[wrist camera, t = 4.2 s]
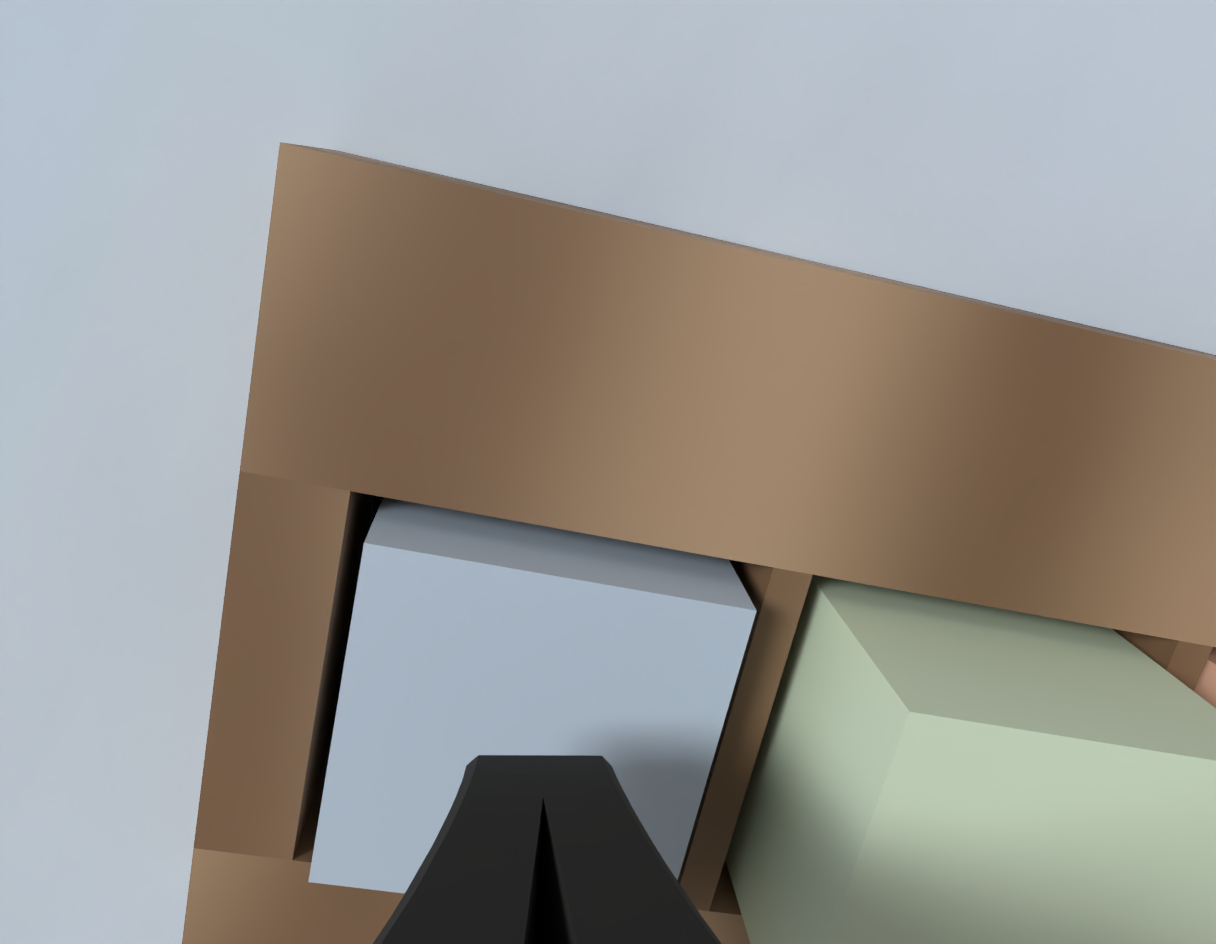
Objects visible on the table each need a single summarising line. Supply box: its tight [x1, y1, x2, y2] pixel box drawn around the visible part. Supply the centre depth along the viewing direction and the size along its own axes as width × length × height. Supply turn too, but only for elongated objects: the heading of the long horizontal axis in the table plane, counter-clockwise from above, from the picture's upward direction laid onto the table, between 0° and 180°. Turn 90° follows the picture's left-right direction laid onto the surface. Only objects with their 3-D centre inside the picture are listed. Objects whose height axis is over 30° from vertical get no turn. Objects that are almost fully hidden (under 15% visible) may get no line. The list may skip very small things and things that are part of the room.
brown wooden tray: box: [182, 143, 1216, 944], centre depth 14 cm, size 18×12×3 cm, turn 78°
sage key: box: [725, 575, 1216, 944], centre depth 12 cm, size 4×4×3 cm
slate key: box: [308, 497, 757, 893], centre depth 13 cm, size 4×4×3 cm
